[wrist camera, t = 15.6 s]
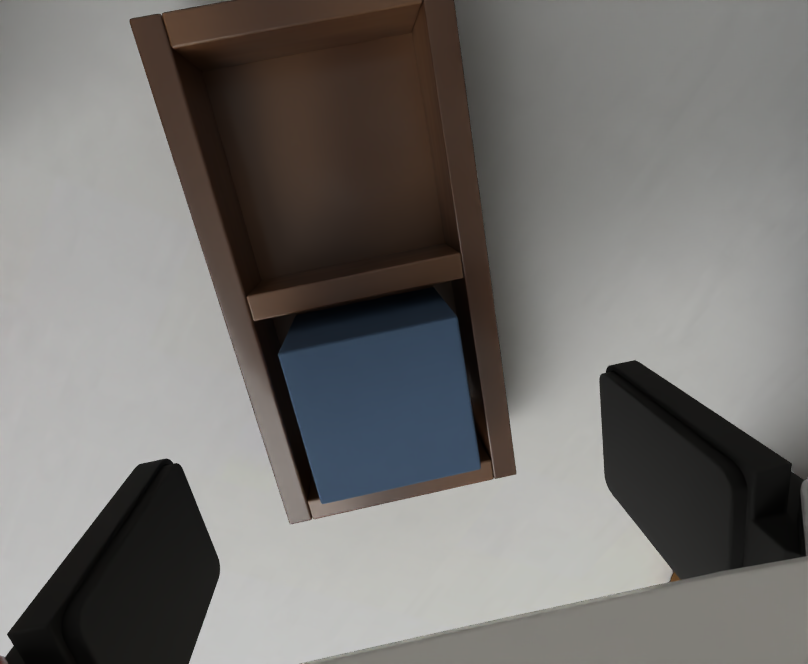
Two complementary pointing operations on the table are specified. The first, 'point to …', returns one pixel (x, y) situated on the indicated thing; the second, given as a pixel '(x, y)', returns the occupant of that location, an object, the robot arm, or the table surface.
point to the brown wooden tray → (329, 191)
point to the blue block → (380, 394)
